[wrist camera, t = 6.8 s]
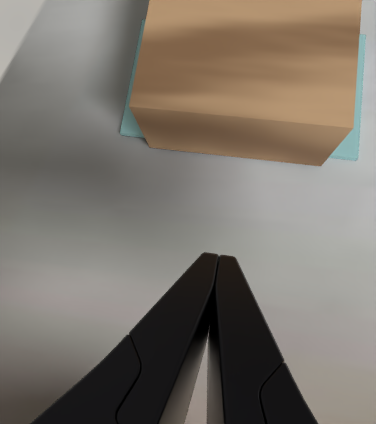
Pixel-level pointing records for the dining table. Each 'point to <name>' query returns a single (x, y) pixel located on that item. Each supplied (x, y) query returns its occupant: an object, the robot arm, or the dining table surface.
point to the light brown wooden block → (248, 77)
